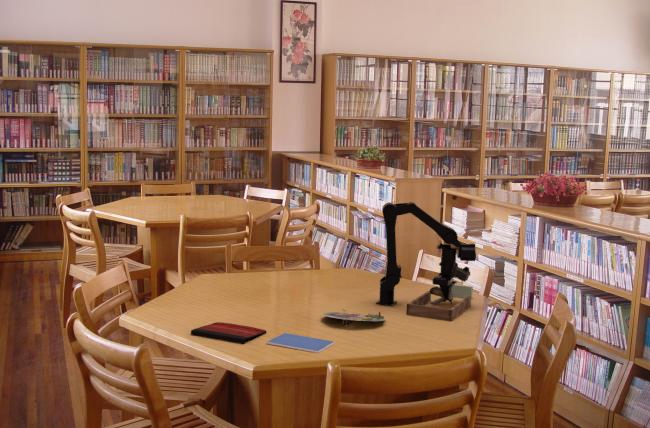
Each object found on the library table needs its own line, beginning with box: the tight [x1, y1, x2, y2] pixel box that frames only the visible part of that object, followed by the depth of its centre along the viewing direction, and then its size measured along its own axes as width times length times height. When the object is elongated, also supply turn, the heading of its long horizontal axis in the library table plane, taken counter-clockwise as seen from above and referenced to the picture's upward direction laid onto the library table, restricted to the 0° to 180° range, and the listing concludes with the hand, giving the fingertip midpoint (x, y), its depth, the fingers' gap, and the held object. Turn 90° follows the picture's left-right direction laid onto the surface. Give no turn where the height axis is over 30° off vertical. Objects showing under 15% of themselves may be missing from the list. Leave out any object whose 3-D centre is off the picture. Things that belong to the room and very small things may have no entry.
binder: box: [190, 322, 267, 345], centre depth 263 cm, size 16×2×21 cm
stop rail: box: [451, 283, 474, 300], centre depth 321 cm, size 2×10×5 cm, turn 64°
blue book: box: [266, 332, 336, 354], centre depth 253 cm, size 19×13×1 cm, turn 64°
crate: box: [405, 290, 472, 322], centre depth 299 cm, size 25×17×4 cm
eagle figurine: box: [429, 286, 454, 305], centre depth 310 cm, size 8×7×9 cm
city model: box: [322, 309, 386, 328], centre depth 282 cm, size 25×23×6 cm
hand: (446, 299), depth 307 cm, fingers closed
